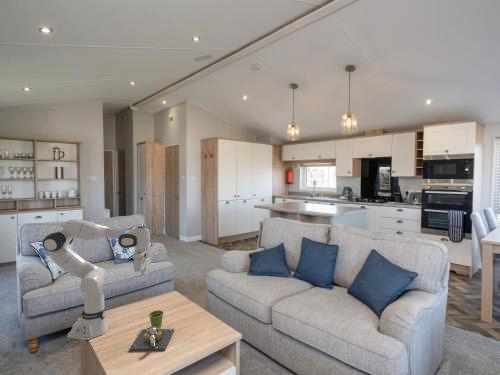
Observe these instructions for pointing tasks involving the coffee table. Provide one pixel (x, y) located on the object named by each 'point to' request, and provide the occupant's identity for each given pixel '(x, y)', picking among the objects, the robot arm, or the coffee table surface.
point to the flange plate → (159, 345)
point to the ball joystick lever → (152, 337)
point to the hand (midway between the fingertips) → (143, 274)
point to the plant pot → (156, 318)
